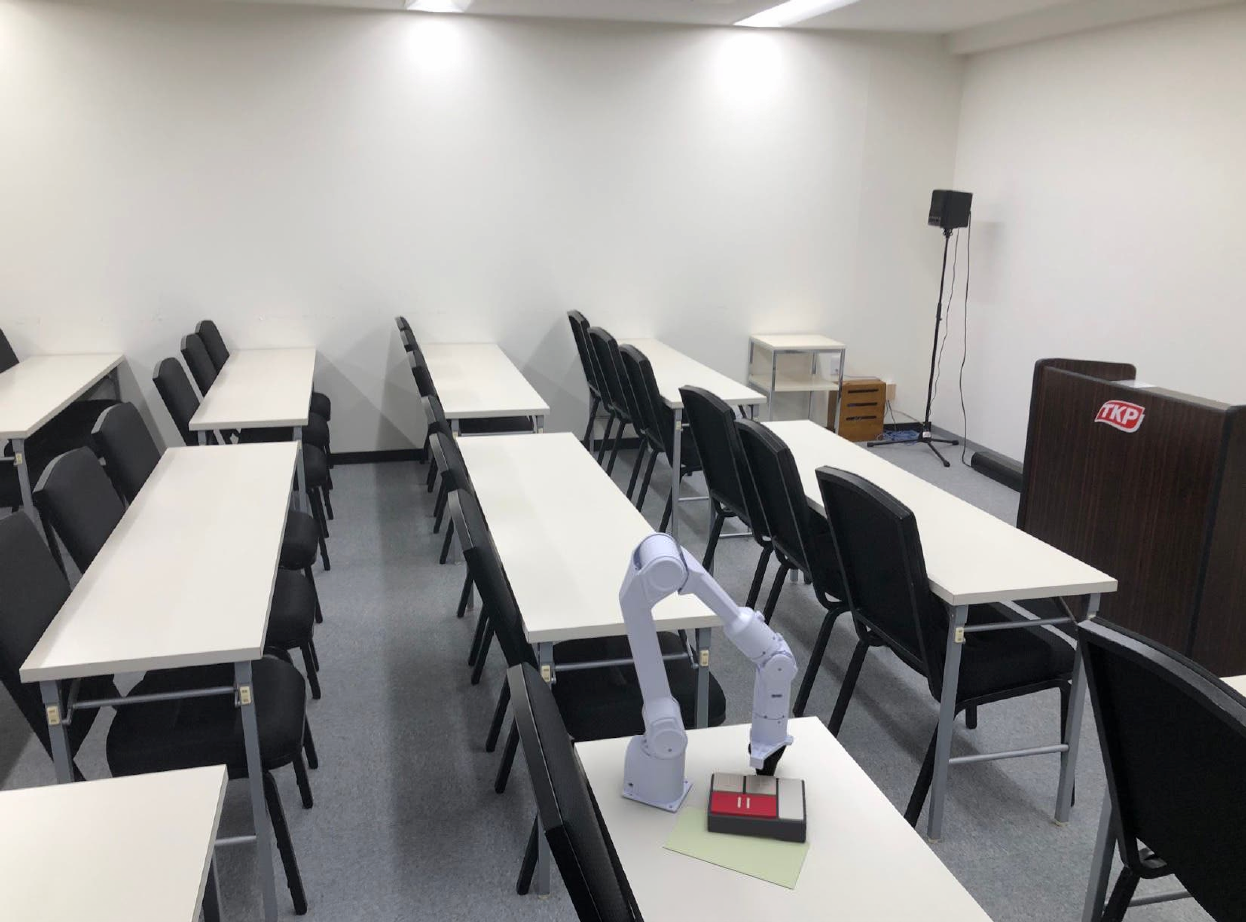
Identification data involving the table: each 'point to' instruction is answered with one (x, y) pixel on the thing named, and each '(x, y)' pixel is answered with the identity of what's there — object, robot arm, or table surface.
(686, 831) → the mat
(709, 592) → the robot arm
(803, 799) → the button box
